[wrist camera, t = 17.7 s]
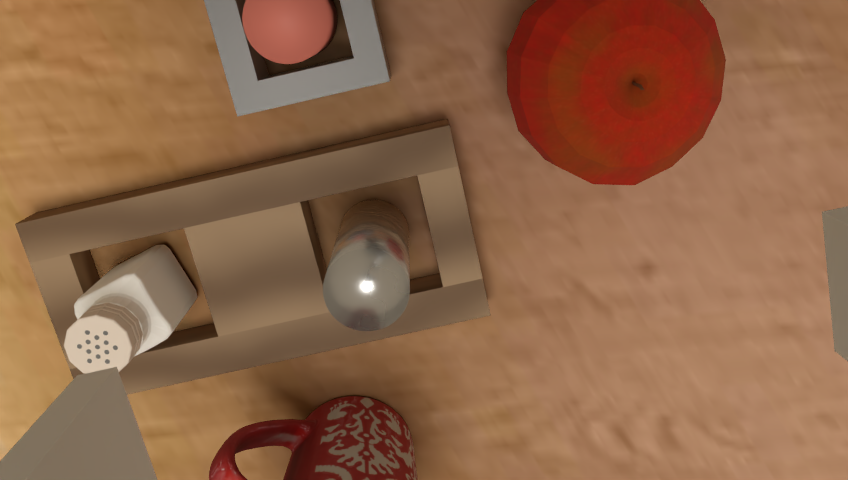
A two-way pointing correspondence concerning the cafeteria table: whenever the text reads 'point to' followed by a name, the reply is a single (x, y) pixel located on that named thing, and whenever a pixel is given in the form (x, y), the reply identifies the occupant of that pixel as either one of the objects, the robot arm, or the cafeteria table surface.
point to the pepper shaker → (129, 311)
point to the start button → (289, 28)
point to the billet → (369, 267)
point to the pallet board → (264, 253)
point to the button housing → (302, 84)
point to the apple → (615, 84)
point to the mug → (330, 443)
